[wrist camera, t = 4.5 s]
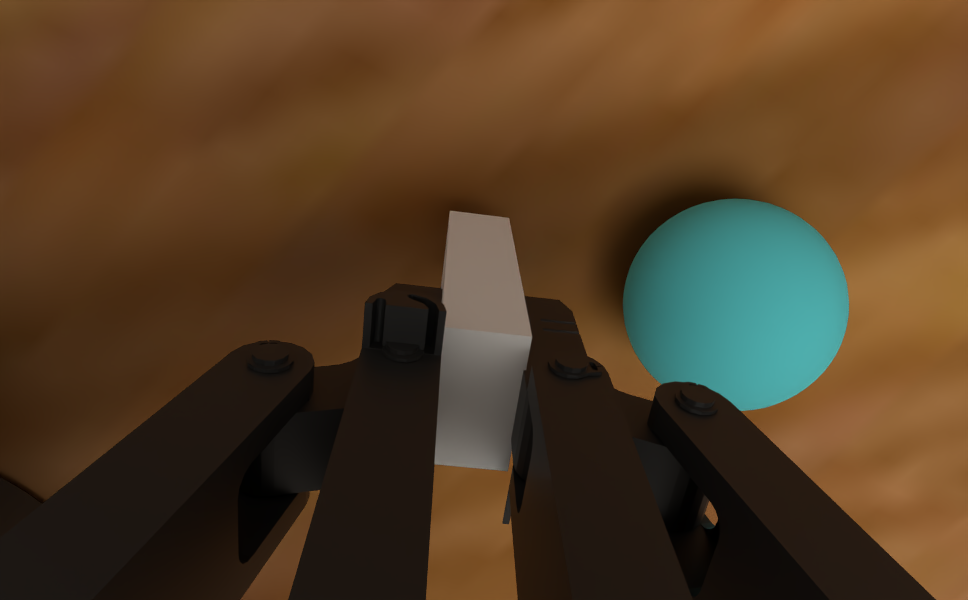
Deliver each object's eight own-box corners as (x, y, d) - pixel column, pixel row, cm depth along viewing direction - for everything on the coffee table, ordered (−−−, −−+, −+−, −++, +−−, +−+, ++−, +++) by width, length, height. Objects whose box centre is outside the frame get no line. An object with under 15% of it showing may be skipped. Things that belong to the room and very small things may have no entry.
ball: (587, 338, 21) (630, 445, 16) (626, 164, 19) (691, 224, 14) (754, 356, 22) (847, 464, 17) (811, 188, 19) (938, 254, 14)
